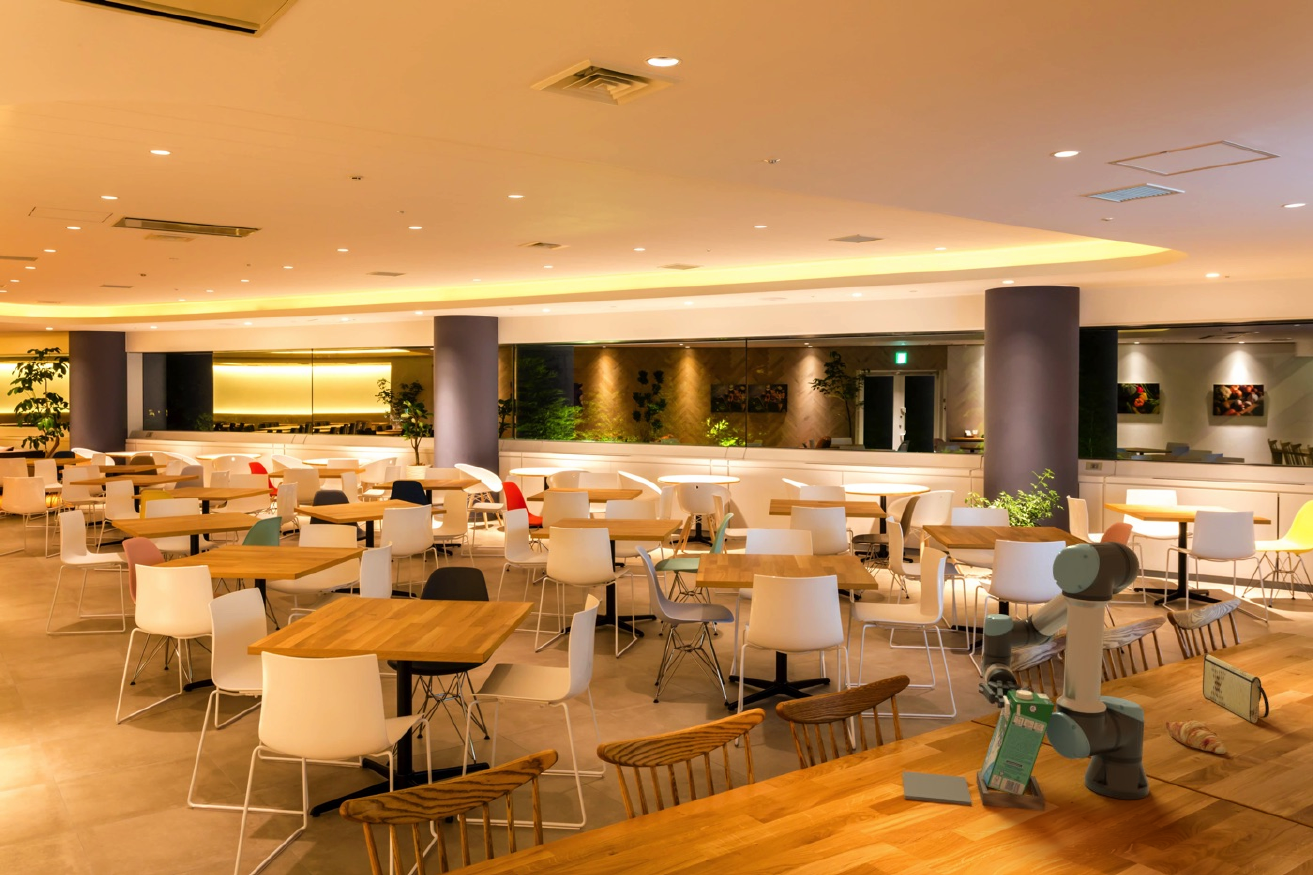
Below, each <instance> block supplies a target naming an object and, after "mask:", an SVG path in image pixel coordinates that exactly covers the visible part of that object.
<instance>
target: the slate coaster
mask: <svg viewBox="0 0 1313 875" xmlns="http://www.w3.org/2000/svg"><path fill="white" fill-rule="evenodd" d="M966 779H967V778H966V776H959V775H958V776H957V775H949V774H948V775H947V774H937V773H928V772H927V773H925V772H917V771H904V770H902V781H903V782H902V783H903V791H904V792H903V793H904V799H906V800H914V801H915V800H916V801H926V802H934V801H935V803H936V802H937V803H944V802H950V803H949V804H955V803H958V805H965V804H966V805H967V806H972V799H971V798H972V797H971V794H970V791H969V787H968V782H967V780H966ZM959 803H960V804H959ZM966 805H965V806H966Z"/></svg>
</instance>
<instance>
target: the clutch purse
mask: <svg viewBox="0 0 1313 875" xmlns="http://www.w3.org/2000/svg"><path fill="white" fill-rule="evenodd" d="M1203 659H1204V660H1203V676H1202V678H1203V679H1202V694H1203V697H1204V698H1207V699H1208V700H1210V701H1212V702H1214V703H1215V704H1217V705H1220V706H1221V707H1222V708H1225V709H1227V710H1228V711H1230V712H1232V713H1233V714H1235V715H1237V716H1239V717H1240V718H1243V719H1245V720H1247V721H1248V722H1250V723H1251V724H1256V723H1257V722H1258V719H1259V718H1261V719H1266V718H1268V716H1269V713H1270V706H1269V705H1270V704H1269V700H1268V697H1267V694H1266V691H1265V690H1264V688H1263V687H1262V681H1261V678H1260V677H1258V676H1256V675H1253V674H1252V673H1249V672H1247V671H1245V670H1243V669H1241V668H1238V667H1237V666H1234V665H1232V664H1230V663H1228V662H1226V661H1224V660H1221V659H1219V658H1217V657H1215V656H1213V655H1211V654H1209V653H1206V654H1205V655H1204V658H1203ZM1262 697H1263V701H1264V708H1265V710H1264V711H1265V712H1264V714H1263V716H1259V714H1260V701H1261V698H1262Z"/></svg>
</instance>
